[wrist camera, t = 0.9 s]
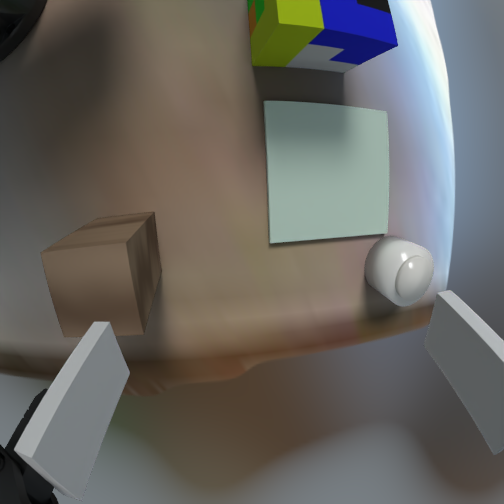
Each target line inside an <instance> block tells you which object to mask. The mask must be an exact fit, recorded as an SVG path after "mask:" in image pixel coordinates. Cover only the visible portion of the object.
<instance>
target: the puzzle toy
mask: <svg viewBox="0 0 504 504" xmlns="http://www.w3.org/2000/svg"><path fill="white" fill-rule="evenodd" d="M247 1H248V15H249V28H250V42H251V57H252V66H274V67H293V68H306V69H316V70H326V71H334V72H341V73H345V72H346V71H348V70H350V69H352V68H354V67H356V66H358V65H360V64H362V63H364V62H366V61H368V60H370V59H372V58H374V57H376V56H378V55H380V54H382V53H384V52H386V51H388V50H390V49H392V48H394V47H397V46H398V43H397V38H396V33H395V28H394V24H393V20H392V16H391V12H390V8H389V4H388V0H247Z"/></svg>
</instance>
